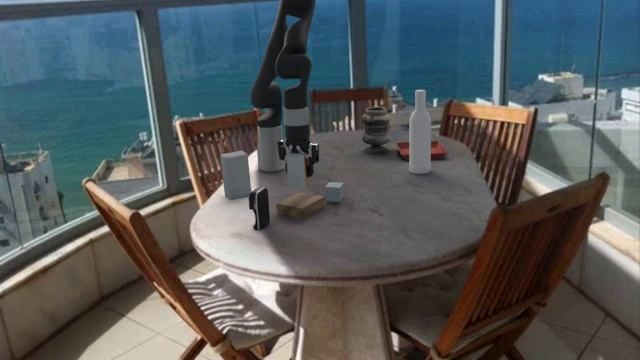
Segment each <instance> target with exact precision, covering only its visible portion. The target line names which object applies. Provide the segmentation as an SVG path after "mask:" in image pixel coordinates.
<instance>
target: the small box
mask: <svg viewBox="0 0 640 360" xmlns="http://www.w3.org/2000/svg"><path fill="white" fill-rule="evenodd" d="M309 151H310V152H311V150H310V149H309ZM305 155H307V153H305ZM305 155H301V154H298V153H290V154H288V155H287V156H286V157H287V172H286V174H287V173H288V174H287V184H288V185H287V186H288V189H289V190H292V189H293V190H306V189H307V188H308V186H309V185H310V184H311V183H312V176H311V177H307V171H306V166H307V164H306V158H305Z"/></svg>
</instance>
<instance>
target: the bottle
mask: <svg viewBox="0 0 640 360" xmlns="http://www.w3.org/2000/svg"><path fill="white" fill-rule="evenodd" d="M426 92H427V91H426V90H425V89H417V90H415V91H414V93H415V94H414V99H415V100H414V101H415V103H414V105H415V106H414V107H415V108H414V111H412V112H411V114H410V116H409V120H408V122H409V125H408V126H409V129H408V130H409V133H408V134H409V135H408V136H409V139H408V140H409V141H408V142H409V161H408V162H409V163H408V167H409V168H408V169H409V172H410V173H411V174H416V175H424V174H428V173H429V174H430V172H431V170H432V169H431V168H432V163H431V161H432V159H431V141H432V118H431V115H430V113H429V111H427V109H426V101H427V100H426V97H427V93H426Z"/></svg>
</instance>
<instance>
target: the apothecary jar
mask: <svg viewBox="0 0 640 360" xmlns="http://www.w3.org/2000/svg"><path fill="white" fill-rule="evenodd" d="M364 112H365V113H364V114H363V115H362V116H361V121H362V122H363V123H364V133H363V134H362V135H361V140H362V142H363V143H364V144H367V145H369V146H368V147H366V148H365V149H364V152H365V153H367V154H383V153H388V151H389V148H387V147H385V146H383V145H386V144H388V143H389V142H390V141H391V139H392V135H391V134H390V133H389V130H388V129H389V128H388V127H389V126H388V123H389V122H390V121H391V119H392V117H391V115H390V113H389V112H388V110H387V108H386V107H384V106H370V107H366V109H365V111H364Z"/></svg>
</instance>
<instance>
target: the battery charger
mask: <svg viewBox="0 0 640 360" xmlns="http://www.w3.org/2000/svg"><path fill="white" fill-rule="evenodd" d="M248 209H249V210H251V211H252V212H253V213H254V219H255V221H254V224H253V226H252V228H253V230H258V231H260V230H263V229H264V228H265V227H267V225H268V224H269V223H271V218H270V200H269V190H268V188H267V187H256V188H254V189H253V190H251V193H250V194H249V196H248Z"/></svg>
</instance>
